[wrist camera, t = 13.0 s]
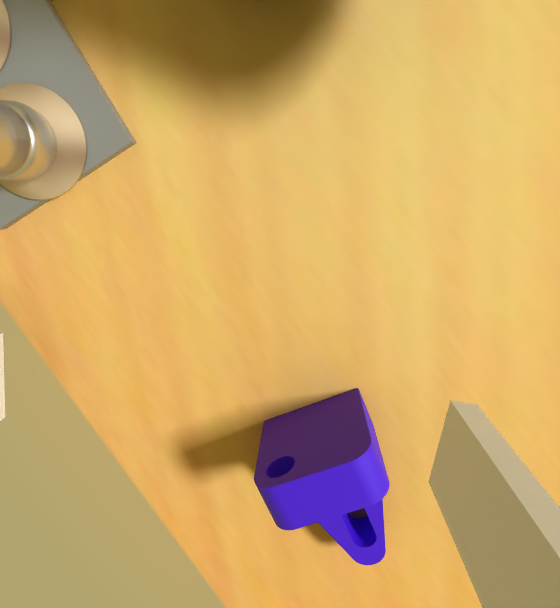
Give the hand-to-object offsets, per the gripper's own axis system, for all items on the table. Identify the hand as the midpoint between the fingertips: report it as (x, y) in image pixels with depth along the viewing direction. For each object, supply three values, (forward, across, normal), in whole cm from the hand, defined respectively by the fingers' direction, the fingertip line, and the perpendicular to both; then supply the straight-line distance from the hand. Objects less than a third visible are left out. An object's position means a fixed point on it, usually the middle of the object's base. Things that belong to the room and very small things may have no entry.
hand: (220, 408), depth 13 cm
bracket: (+32, +10, -23) cm, 41 cm away
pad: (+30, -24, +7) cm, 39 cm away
